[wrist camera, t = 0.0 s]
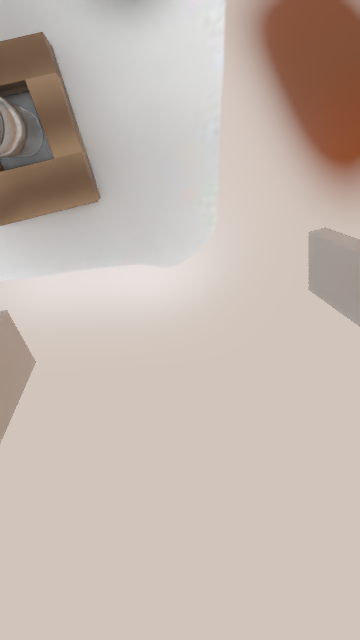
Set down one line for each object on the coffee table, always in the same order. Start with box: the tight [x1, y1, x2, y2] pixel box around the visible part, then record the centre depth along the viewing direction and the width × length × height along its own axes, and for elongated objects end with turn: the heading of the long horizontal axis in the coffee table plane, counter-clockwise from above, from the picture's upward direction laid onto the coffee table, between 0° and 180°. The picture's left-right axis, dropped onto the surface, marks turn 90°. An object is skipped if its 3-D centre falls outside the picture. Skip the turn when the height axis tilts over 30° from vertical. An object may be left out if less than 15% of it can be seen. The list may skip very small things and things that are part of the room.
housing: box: [0, 32, 100, 226], centre depth 31 cm, size 14×12×4 cm
